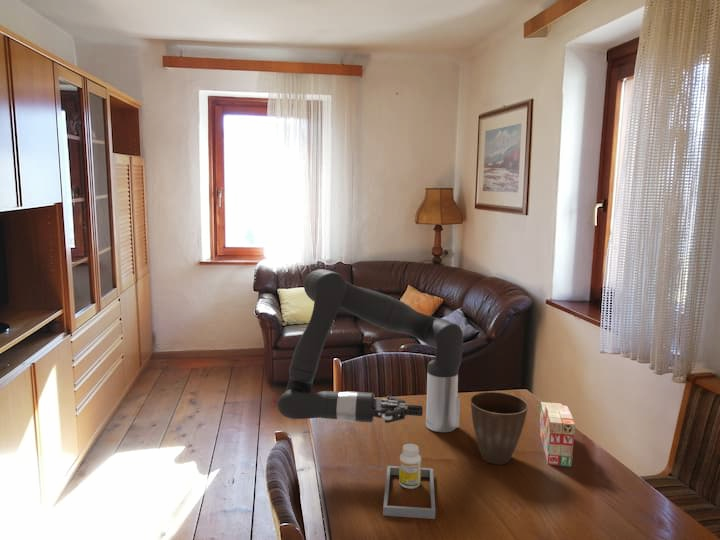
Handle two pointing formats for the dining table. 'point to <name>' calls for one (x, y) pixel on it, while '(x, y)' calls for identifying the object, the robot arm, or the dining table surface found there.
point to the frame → (409, 511)
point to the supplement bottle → (410, 467)
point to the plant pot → (497, 424)
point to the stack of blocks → (557, 433)
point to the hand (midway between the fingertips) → (422, 410)
